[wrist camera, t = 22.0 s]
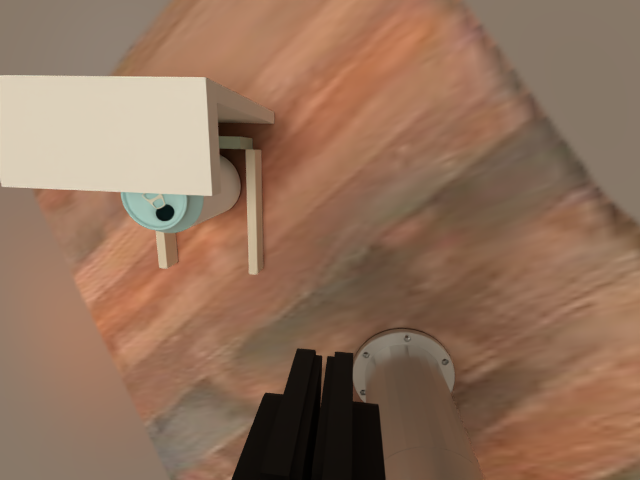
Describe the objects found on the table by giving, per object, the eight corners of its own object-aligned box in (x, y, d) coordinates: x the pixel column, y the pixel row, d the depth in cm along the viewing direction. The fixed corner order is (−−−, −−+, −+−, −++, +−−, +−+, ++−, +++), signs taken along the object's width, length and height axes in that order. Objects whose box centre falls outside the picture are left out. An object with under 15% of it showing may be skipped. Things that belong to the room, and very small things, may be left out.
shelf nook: (275, 268, 40) (220, 346, 24) (159, 260, 42) (33, 329, 25) (274, 112, 36) (205, 77, 19) (144, 109, 37) (-23, 75, 21)
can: (251, 170, 38) (206, 177, 26) (229, 223, 40) (177, 252, 28) (196, 141, 37) (126, 136, 26) (176, 196, 39) (102, 214, 28)
